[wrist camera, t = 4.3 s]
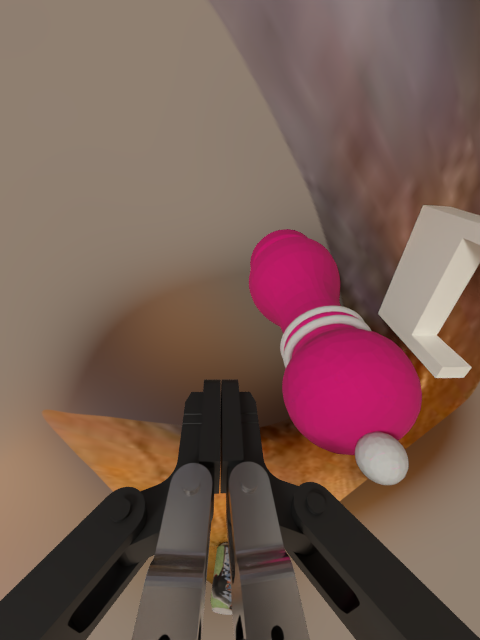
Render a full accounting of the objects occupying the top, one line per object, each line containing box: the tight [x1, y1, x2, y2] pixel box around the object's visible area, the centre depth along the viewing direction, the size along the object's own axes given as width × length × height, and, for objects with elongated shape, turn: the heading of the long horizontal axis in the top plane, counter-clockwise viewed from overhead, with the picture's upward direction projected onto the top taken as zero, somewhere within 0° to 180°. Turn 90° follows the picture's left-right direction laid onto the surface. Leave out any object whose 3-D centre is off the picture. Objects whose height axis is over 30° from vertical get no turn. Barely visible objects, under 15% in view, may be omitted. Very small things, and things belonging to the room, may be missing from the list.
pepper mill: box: [249, 229, 422, 485], centre depth 18 cm, size 7×7×20 cm
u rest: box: [378, 205, 480, 378], centre depth 23 cm, size 11×2×10 cm, turn 176°
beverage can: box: [210, 543, 232, 615], centre depth 63 cm, size 6×7×12 cm
